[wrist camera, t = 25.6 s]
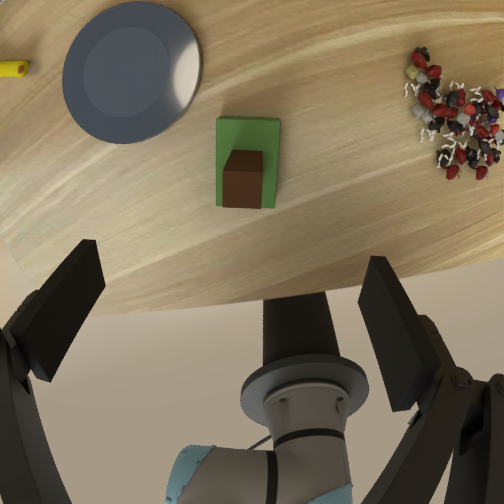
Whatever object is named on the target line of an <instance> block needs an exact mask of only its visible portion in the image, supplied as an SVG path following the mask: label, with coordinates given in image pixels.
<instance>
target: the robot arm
mask: <svg viewBox="0 0 504 504" xmlns="http://www.w3.org/2000/svg"><path fill="white" fill-rule="evenodd" d="M105 286H106V285H105V281H104V276H103V272H102V268H101V263H100V259H99V254H98V249H97V245H96V240H88V239H83V240H82V241H81V242H80V243H79V244H78V245H77V246H76V247H75V248H74V249H73V251H72V252H71V253H70V254H69V255H68V256H67V257H66V258H65V260H64V261H63V262H62V263H61V264H60V265H59V266H58V268H57V269H56V270H55V271H54V272H53V273H52V275H51V276H50V277H49V278H48V279H47V281H46V282H45V283H44V284H43V285H42V287H41V288H40V289H39V290H37V289H36V290H35V291H34V292H32V293H31V294H29V295H28V296H27V297H26V299H25V300H24V301H23V302H22V305H20V306H19V308H18V309H17V311H15V313H14V314H13V315H12V316H11V318H10V319H9V321H8V322H7V323H6V325H5V326H4V327H3V329H2V330H1V328H0V495H1V498H2V501H3V504H72V503H71V500H70V498H69V496H68V494H67V491H66V489H65V487H64V485H63V482H62V480H61V477H60V475H59V472H58V470H57V467H56V465H55V462H54V459H53V457H52V454H51V451H50V448H49V445H48V442H47V440H46V436H45V433H44V430H43V427H42V423H41V420H40V417H39V413H38V409H37V405H36V401H35V397H34V393H33V389H32V384H31V380H30V378H29V376H28V373H29V371H30V369H31V370H32V372H33V373H34V375H35V376H36V378H37V379H40V380H43V381H47V382H50V383H51V381H52V379H53V377H54V375H55V373H56V371H57V369H58V367H59V365H60V364H61V361H62V360H63V358H64V356H65V354H66V352H67V350H68V349H69V347H70V345H71V343H72V342H73V340H74V338H75V336H76V335H77V333H78V331H79V329H80V328H81V326H82V324H83V322H84V321H85V319H86V317H87V316H88V314H89V312H90V311H91V309H92V307H93V306H94V304H95V302H96V301H97V299H98V298H99V296H100V294H101V293H102V291H103V290H104V288H105ZM358 304H359V307H360V310H361V313H362V315H363V319H364V322H365V325H366V327H367V330H368V333H369V336H370V339H371V343H372V346H373V349H374V352H375V355H376V358H377V361H378V364H379V368H380V371H381V374H382V377H383V381H384V384H385V388H386V391H387V394H388V398H389V401H390V405H391V408H392V412H397V411H405V410H410V409H411V407H412V406H413V405H414V403H415V402H417V405H418V408H419V410H418V411H417V412H416V413H415V415H414V416H413V417H412V418H411V420H410V421H409V422H408V424H409V427H408V429H407V431H406V433H405V434H404V436H403V438H402V440H401V442H400V443H399V445H398V447H397V449H396V450H395V452H394V454H393V456H392V457H391V459H390V460H389V462H388V464H387V465H386V467H385V469H384V470H383V472H382V473H381V475H380V476H379V478H378V480H377V481H376V483H375V484H374V486H373V487H372V488H371V490H370V491H369V493H368V494H367V496H366V497H365V498H364V500H363V502H362V503H361V504H429V502H430V500H431V498H432V496H433V494H434V492H435V490H436V488H437V486H438V484H439V482H440V480H441V477H442V475H443V473H444V471H445V469H446V466H447V464H448V461H449V459H450V457H451V454H452V452H453V458H452V464H451V470H450V476H449V482H448V486H447V491H446V496H445V500H444V504H504V375H503V374H495V375H493V376H492V378H491V379H490V380H489V381H488V382H484V381H479V380H473V378H472V376H471V375H470V373H469V372H468V371H466V370H465V369H463V368H460V367H456V365H455V363H454V361H453V359H452V357H451V355H450V353H449V351H448V349H447V347H446V345H445V343H444V341H442V340H443V339H442V337H441V335H440V334H439V331H438V329H437V327H436V326H435V324H434V322H433V321H432V320H431V319H429V318H428V317H427V316H426V315H418V314H417V313H416V311H415V309H414V307H413V305H412V303H411V301H410V300H409V297H408V296H407V294H406V292H405V290H404V288H403V286H402V285H401V283H400V281H399V279H398V278H397V276H396V274H395V272H394V271H393V269H392V267H391V265H390V264H389V262H388V260H387V259H386V257H381V256H371V257H370V261H369V265H368V268H367V272H366V276H365V279H364V283H363V286H362V289H361V293H360V296H359V300H358ZM349 403H350V402H349V396H348V392H347V390H346V388H345V387H344V386H343V385H341V384H340V383H338V382H336V381H333V380H329V379H323V378H306V379H299V380H294V381H290V382H287V383H284V384H281V385H279V386H277V387H275V388H274V389H272V390H271V391H270V392H269V393H267V395H266V396H265V397H264V399H263V411H262V412H263V416H264V419H265V421H266V424H267V427H268V429H269V431H270V435H269V436H267V437H266V438H264V439H263V440H261V441H259V442H258V443H256V444H255V445H253V446H252V447H250V448H249V449H247V450H244V449H232V448H221V447H216V446H215V445H212V446H200V445H199V446H198V445H189V446H187V447H185V448H183V450H181V452H180V453H179V455H178V456H177V458H176V461H175V463H174V465H173V468H172V471H171V474H170V477H169V481H168V485H167V490H166V500H165V504H352V487H353V485H352V483H351V476H350V470H349V462H348V456H347V449H346V444H345V438H344V431H345V426H346V420H347V416H348V410H349ZM270 438H272V439H273V446H274V447H273V448H274V449H273V451H266V450H253V449H254V448H256V447H257V446H259V445H261V444H262V443H264V442H265V441H267V440H269V439H270ZM453 449H454V451H453Z"/></svg>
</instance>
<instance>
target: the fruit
mask: <svg viewBox="0 0 504 504" xmlns="http://www.w3.org/2000/svg"><path fill="white" fill-rule="evenodd" d="M28 67H29V64H28V62H27V61H24V60H15V61H0V77H18V78H21V77H24V76H25V75H26V74H27V72H28Z"/></svg>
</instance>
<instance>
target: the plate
mask: <svg viewBox="0 0 504 504" xmlns="http://www.w3.org/2000/svg"><path fill="white" fill-rule="evenodd" d="M201 71H202V55H201V50H200V46H199V43H198V40H197V37H196V35H195V33H194V31H193V30H192V28H191V27H190V26H189V24H188V23H187V22H186V21H185V20H184V19H183V18H182V17H181V16H180V15H178V14H177V13H175V12H174V11H173V10H171V9H169V8H167V7H165V6H163V5H160V4H156V3H152V2H143V1H136V2H127V3H123V4H119V5H117V6H114V7H111V8H109V9H107V10H105V11H104V12H102V13H100V14H99V15H97V16H96V17H94V18H93V19H92V20H91V21H90V22H89V23H87V24H86V25H85V27H84V28H83V29H82V30H81V31H80V32H79V34H78V35H77V37H76V38H75V39H74V41H73V43H72V45H71V47H70V49H69V51H68V54H67V56H66V60H65V63H64V68H63V77H62V85H63V94H64V99H65V102H66V105H67V107H68V109H69V112H70V114H71V115H72V117H73V118H74V120H75V121H76V122H77V124H78V125H79V126H80V127H81V128H82V129H83V130H85V131H86V132H87V133H89V134H90V135H92V136H93V137H95V138H97V139H100V140H102V141H105V142H109V143H115V144H131V143H137V142H141V141H144V140H147V139H150V138H152V137H154V136H156V135H158V134H159V133H161V132H163V131H165V130H166V129H167V128H169V127H170V126H172V125H173V124H174V123H175V122H176V121H177V120H178V119H179V118H180V117H181V116H182V115H183V114H184V112H185V111H186V110H187V108H188V107H189V105H190V104H191V102H192V100H193V98H194V96H195V94H196V91H197V89H198V86H199V82H200V78H201Z"/></svg>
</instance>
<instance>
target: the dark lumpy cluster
mask: <svg viewBox="0 0 504 504" xmlns="http://www.w3.org/2000/svg"><path fill="white" fill-rule="evenodd" d="M426 50H427V48H426V47H423V48H420V47H417V48H416V50H415V53H412V60H413V61H414V62H415V64H414V65H415V66H414V65H410V66H409V67H407V69H406V73H407V74H408V76H409V77H410V78H411V79H415V78H416V80H417V81H418V82H419V83H418V85H417V86H416V87H415V86H414V85H413V84H410V85H411V86H413V90H414V92H415V90H416V89H417V90H416V92H415V96H418V92H419V91H418V89H419V88H420V84H424V83H426V82H427V81H428V82H427V83H426V84H425V85H424V86H423V88H422V90H421V92H422V93H419V97H418V99H419V101H420V102H421V104H422V105H423V106H425V107H427V108H429V109H431V111H429V109H427V111H426V112H425V110H424V108H423V107H422V105H421V104H416V105H415V106H414V107H413V108H412V112H413V114H414V115H415V117H416V118H420V117H421V116H422V120H423V121H424V124H427V123H429V122H430V121H431V120H432V121H431V122H430V124H429V126H428V129H427V131H428V132H429V136H430V137H431V138H430V141H433V138H434V134H435V133H436V130H437V132H438V133H440V128H441V127H442V126H443V125H444V121H445V118H446V117H447V119H446V121H447V125H448V127H449V129H450V130H451V131H452V132H451V133H450V134H448V133H446V134H443V135H442V137H446V136H448V135H449V137H448V138H447V139H449V140H452V141H453V142H454V144H453V145H450V146H449V145H448V144H445V145H443V146H442V149H443V148H444V147H448V146H449V148H450V149H451V148H452V147H453V152H452V153H451V157H450V152H449V151H448V150H447V149H444V150H442V151H440V152H439V150H438V151H436V153H437V162H438V164H439V165H438V166H437V168H440V167H442V168H444V169H447V174H446V178H447V179H448V180H450V179H453V178H454V177H455V176H458V178H460V176H459V175H460V174H461V173H462V171H461V169H460V168H462V167H464V166H465V164H466V162H467V163H468V165H469V166H470V167H471V168H472V169H474V170H475V169H476V170H477V171H476V179H477V180H481V179H483V178H484V177H485V176H486V179H487V175H488V174H489V172H488V169H489V168H491V167H492V165H493V164H495V163H498V162H499V160H500V156H499V154H501V151H498V150H497V149H499V147H500V145H503V144H504V130H500V129H499V127H500V126H499V124H494V125H491V124H490V123H495V122H496V120H497V119H498V118H499V113H498V111H499V109H500V110H502V111H504V89H496V87H495V86H494V89H496V95H497V97H498V99H499V100H500V99H501V100H500V101H499V100H498V99H497V97H496V96H494V95H493V93H492V92H490V91H488V90H482V94H481V93H479V90H480V89H481V86H480V87H478V88H477V89H476V88H472V89H470V91H475V90H476V92H474V93H475V94H479V95H480V96H482V95H483V96H482V97H481V99H479V100H477V99H476V98H472V99H471V100H470V102H471V103H472V101H474V103H473V104H466V105H465V107H464V112H465V113H463V112H462V113H461V114H460V115H459V116H458V117H457V121H452V120H449V118H454V117H455V116H456V115H457V113H458V109H457V108H455V107H453V106H455V105H457V106H458V107H459V106H463V105H464V104H465V96H466V93H465V92H464V90H463V89H462V88H463V87H464V83H463V82H462V84H461V86H459V84H458V83H457V82H456V83H455V84H456V85H457V87H458V90H457V91H456V90H452V85H453V80H452V81H451V84H450V86H449V87H450V88H451V89H450V92H449V93H448V94H445V96H444V97H445V98H444V99H445V100H446V104H447V105H445V104H441V101H442V99H443V96H441V95H440V94H439V93H437V91H438V89H439V85H440V79H441V78H440V77H439V76H441V77H442V75H441V66H438V65H432V66H430V67H429V68H427V64H426V61H428V62H429V61H430V56H429V54H428V52H426ZM416 66H417V67H419V68H422V69H425V72H426V73H427V75H429V76H431V77H437V78H433V79H431V80H430V81H429V80H428V76H427V75H426V74H425V73H423V72H420V74H419V71H418V69H417V68H416ZM426 68H427V69H426ZM443 76H444V75H443ZM441 80H442V79H441ZM442 82H443V81H442ZM407 87H408V82H407V83H406V85H405V87H404V89H405V90H406V89H407ZM415 88H416V89H415ZM441 89H442V87H441ZM441 89H440V90H441ZM441 91H442V90H441ZM441 91H440V92H441ZM405 92H406V95H405V96H404V97H405V98H406V97H407V96H408V91H407V90H406V91H405ZM441 93H442V92H441ZM436 94H437V95H438V96H439V97H440V96H441V97H440V98H439V99H438V100H436V101H435V99H436ZM432 101H435V102H436V103H438V102H439V104H437V105H435V106H434V107H433V102H432ZM424 112H425V113H424ZM431 112H432V113H433V114H432V113H431ZM487 113H488V114H487ZM467 114H468V115H467ZM485 114H487V121H488V122H487V121H484V122H483V123H482V121H481V117H479V115H485ZM433 117H434V118H435V119H433ZM467 123H468V124H467ZM481 123H482V124H481ZM466 124H467V125H468V126H469V129H467V128H465V125H466ZM479 124H481V126H479ZM472 126H473V127H472ZM498 129H499V130H498ZM424 130H425V128H423V129H422V131H421V133H420V135H422V136H421V140H420V141H419V142H420V143H422V142H423V138H424V136H423V132H424ZM430 130H434V131H433V132H432V133H431V132H430ZM468 130H470V135H471V136H472V135H473V136H474V137H475V139H477V141H478V145H479V148H480V149H479V150H478V152H477V151H476V150H474V149H471V148H470V147H469V146H466V145H467V143H466V141H465V145H463V148H462V144H461V143H460V142H458V144H460V148H459V147H458V148H457V149H456V150H455V145H456V143H457V142H456V141H454V139H453V138H451V137H452V135H453V134H455V136H457V135H458V134H460V133H461V134H460V136H463V135H464V132H465V131H466V132H467V131H468ZM490 130H491V132H490ZM431 134H432V135H431ZM468 137H470V136H469V135H468ZM466 140H467V139H466ZM467 141H468V140H467ZM493 143H495V144H496V145H497V146H496V148H497V149H496V148H492V149H491V146H492V144H493ZM480 151H482V157H483V156H484V160H485V165H486V166H478V167H477V168H475V167H476V166H477V164H478V162H479V161H480V160H479V159H480V158H479V153H480ZM454 153H455V155H456V159H457V164H458V165H450V163H451V161H452V160H453V154H454ZM466 159H467V161H466ZM493 161H494V162H493ZM446 165H447V167H445V166H446Z"/></svg>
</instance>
